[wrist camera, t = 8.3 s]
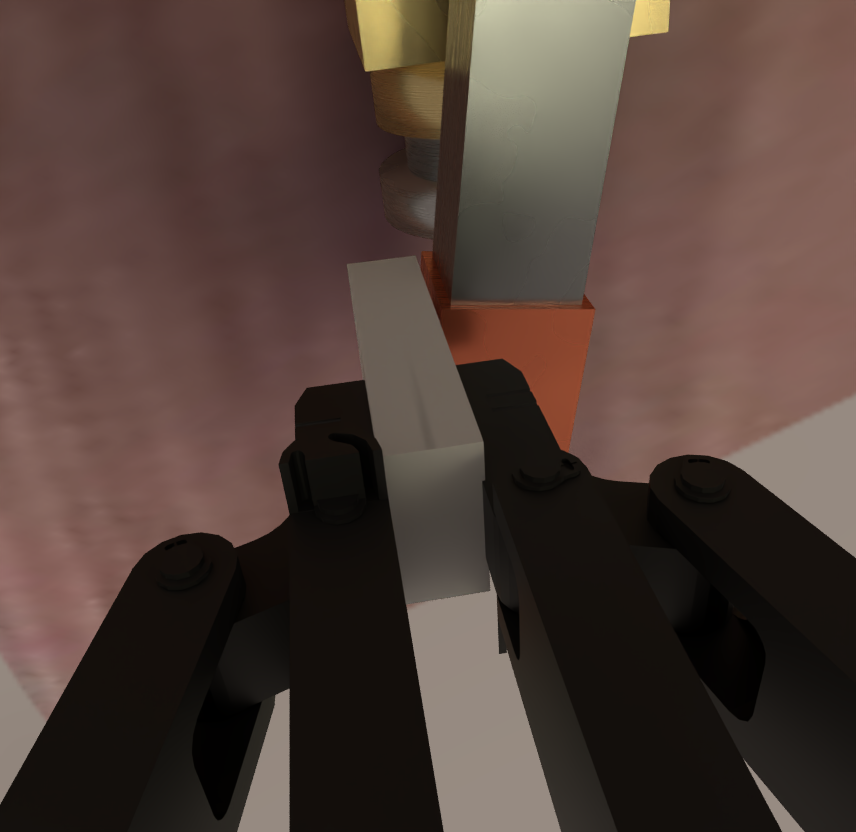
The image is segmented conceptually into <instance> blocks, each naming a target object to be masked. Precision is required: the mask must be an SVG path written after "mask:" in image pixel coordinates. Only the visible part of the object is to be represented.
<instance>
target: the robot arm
mask: <svg viewBox="0 0 856 832" xmlns="http://www.w3.org/2000/svg"><path fill="white" fill-rule="evenodd" d="M347 270H348V277H349V284H350V291H351V298H352V305H353V313H354V320H355V327H356V334H357V341H358V348H359V355H360V363H361V370H362V377H363V380H360V381H353V382H345V383H338V384H331V385H324V386H317V387H310V388H306V390H305V391H304V393H303V394H302V396H301V397H300V399H299V400H298V402H297V403H296V405H295V441H293V442H292V443H291V444H290V445H289V446H288V447H287V448H286V449H285V450H284V451H283V453H282V456H281V459H280V462H279V469H280V473H281V478H282V482H283V487H284V491H285V495H286V500H287V504H288V509H289V513H290V515H289V516H288V518H287V519H286V520H285V521H284V522H283V523H282V524H281V525H280V526H279V527H277V528H276V529H274V530H273V531H272V532H270V533H269V534H267V535H265V536H263V537H260V538H258V539H256V540H254V541H252V542H249V543H247V544H244V545H241V546H239V547H236V548H234V547H233V545H232V543H231V542H229V541H228V540H226V539H224V538H223V537H221V536H219V535H215V534H208V533H202V532H201V533H193V534H185V535H180V536H177V537H175V538H172V539H169V540H167V541H164V542H162V543H160V544H159V545H157V546H156V547H154V548H153V549H151V550H150V551H148V552H147V553H145V554H144V555H143V557H142V558H141V559H140V560H139V562H138V563H137V564H136V565H135V566H134V568H133V569H132V571H131V573H130V574H129V576H128V578H127V580H126V582H125V583H124V585H123V587H122V589H121V591H120V592H119V594H118V596H117V598H116V599H115V601H114V603H113V605H112V607H111V608H110V610H109V612H108V614H107V615H106V617H105V619H104V621H103V623H102V624H101V626H100V628H99V630H98V631H97V633H96V635H95V637H94V639H93V640H92V642H91V644H90V646H89V647H88V649H87V651H86V653H85V655H84V656H83V658H82V660H81V662H80V663H79V665H78V667H77V669H76V671H75V672H74V674H73V676H72V678H71V680H70V681H69V683H68V685H67V687H66V688H65V690H64V692H63V694H62V696H61V697H60V699H59V701H58V703H57V704H56V706H55V708H54V710H53V712H52V713H51V715H50V717H49V719H48V720H47V722H46V724H45V726H44V728H43V730H42V731H41V733H40V735H39V736H38V738H37V740H36V742H35V744H34V746H33V747H32V749H31V751H30V753H29V754H28V756H27V758H26V760H25V761H24V763H23V765H22V767H21V769H20V770H19V772H18V774H17V776H16V777H15V779H14V781H13V783H12V785H11V786H10V788H9V790H8V792H7V794H6V795H5V797H4V799H3V801H2V802H1V804H0V832H237V830H238V827H239V823H240V820H241V817H242V813H243V810H244V807H245V803H246V800H247V796H248V793H249V790H250V786H251V782H252V780H253V776H254V773H255V769H256V766H257V762H258V759H259V756H260V753H261V749H262V746H263V742H264V739H265V735H266V732H267V729H268V725H269V722H270V718H271V715H272V712H273V708H274V705H275V695H276V694H278V693H280V692H282V691H285V690H287V689H289V688H290V832H444V831H443V825H442V820H441V813H440V807H439V801H438V795H437V789H436V783H435V777H434V771H433V765H432V759H431V753H430V746H429V741H428V734H427V729H426V722H425V717H424V710H423V704H422V698H421V693H420V686H419V680H418V674H417V669H416V662H415V656H414V650H413V644H412V638H411V632H410V626H409V619H408V613H407V607H406V604H412V603H418V602H424V601H430V600H436V599H443V598H450V597H456V596H462V595H468V594H473V593H480V592H486V591H490V575H489V570H490V574H491V577H492V580H493V583H494V587H495V590H496V593H497V611H498V635H499V636H498V638H499V654H502V653H507V651H506V650H508V654H509V658H510V661H511V664H512V668H513V670H514V674H515V678H516V681H517V684H518V688H519V691H520V695H521V698H522V701H523V704H524V708H525V711H526V715H527V718H528V721H529V725H530V728H531V731H532V735H533V738H534V742H535V745H536V748H537V752H538V755H539V758H540V762H541V765H542V768H543V771H544V775H545V778H546V782H547V785H548V789H549V792H550V795H551V798H552V802H553V805H554V809H555V812H556V815H557V818H558V822H559V826H560V829H561V832H782V831H781V829H780V827H779V825H778V823H777V821H776V820H775V818H774V816H773V814H772V812H771V810H770V809H769V806H768V805H767V803H766V801H765V799H764V797H763V795H762V793H761V791H760V790H759V788H758V786H757V784H756V782H755V780H754V778H753V777H752V775H751V773H750V771H749V769H748V767H747V765H746V763H745V762H744V760H745V761H746V762H747V764H748V765H749V766H750V767H751V768H752V769H753V771H754V772H755V773H756V774H757V775H758V777H759V778H760V779H761V780H762V781H763V783H764V784H765V785H766V786H767V787H768V788H769V790H770V791H771V792H772V793H773V795H774V796H775V797H776V798H777V799H778V801H779V802H780V803H781V804H782V805H783V806H784V808H785V809H786V810H787V811H788V812H789V813H790V815H791V816H792V817H793V818H794V820H795V821H796V822H797V823H798V824H799V826H800V827H801V828H802V829H803V830H804V831H805V832H856V558H855V557H854V556H852V555H851V554H850V553H848V552H847V551H846V550H845V549H843V548H842V547H841V546H839V545H838V544H837V543H836V542H834V541H833V540H832V539H830V538H829V537H828V536H827V535H825V534H824V533H823V532H821V531H820V530H819V529H818V528H816V527H815V526H814V525H813V524H811V523H810V522H809V521H807V520H806V519H805V518H804V517H802V516H801V515H800V514H798V513H797V512H796V511H794V510H793V509H792V508H791V507H789V506H788V505H787V504H786V503H784V502H783V501H782V500H780V499H779V498H778V497H777V496H775V495H774V494H773V493H771V492H770V491H769V490H768V489H766V488H765V487H764V486H763V485H761V484H760V483H759V482H757V481H756V480H755V479H754V478H752V477H751V476H750V475H748V474H747V473H746V472H745V471H743V470H742V469H740V468H738V467H736V466H735V465H733V464H731V463H729V462H728V461H725V460H721V459H718V458H714V457H710V456H703V455H683V456H678V457H673V458H669V459H667V460H666V461H664V462H662V463H660V464H658V465H657V466H656V467H655V469H654V470H653V472H652V473H651V475H650V480H649V483H636V482H620V481H612V480H605V479H601V478H598V477H594V476H591V474H590V472H589V470H588V468H587V467H586V466H585V465H584V464H583V463H582V461H581V460H580V459H579V458H578V457H576V456H574V455H572V454H570V453H568V452H566V451H564V450H561V449H560V447H559V445H558V443H557V441H556V439H555V437H554V435H553V433H552V431H551V429H550V427H549V425H548V423H547V421H546V419H545V417H544V415H543V413H542V411H541V409H540V407H539V405H537V401H536V399H535V397H534V395H533V393H532V391H531V392H530V387H529V385H528V383H527V381H526V379H525V377H524V375H523V373H522V371H520V370H519V369H517V368H516V367H514V366H513V365H511V364H510V363H508V362H507V361H506V360H504V359H503V358H502V359H495V360H488V361H481V362H474V363H466V364H459V365H455V362H454V360H453V357H452V354H451V351H450V349H449V346H448V343H447V341H446V338H445V335H444V332H443V330H442V327H441V324H440V321H439V319H438V316H437V313H436V311H435V308H434V305H433V302H432V300H431V297H430V294H429V291H428V289H427V286H426V283H425V280H424V278H423V275H422V272H421V270H420V267H419V264H418V261H417V259H416V256H407V257H400V258H392V259H383V260H376V261H368V262H360V263H352V264H347ZM743 759H744V760H743Z"/></svg>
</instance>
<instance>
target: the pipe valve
mask: <svg viewBox="0 0 856 832" xmlns="http://www.w3.org/2000/svg"><path fill="white" fill-rule="evenodd" d="M344 2H345V9H346V16H347V23H348V28H349V31H350V33H351V36H352V39H353V41H354V44H355V46H356V49H357V52H358V54H359V57H360V60H361V62H362V65H363V67H364V70H365V72H366V71H370V77H371V84H372V92H373V100H374V108H375V115H376V123H377V125H378V127H380V128H381V129H382V130H384V131H386V132H389V133H392V134H395V135H400V136H405V145H406V148H405V149H402V150H400V151H398V152H396V153H394V154H393V155H391V156H390V157H388V158H387V159H386V160H385V161H384V162H383V163H382V164H381V166H380V168H379V175H380V182H381V190H382V197H383V205H384V212H385V217H386V219H387V221H388V222H389V223H390V224H391V225H392V226H393V227H395V228H396V229H398V230H400V231H403V232H405V233H408V234H411V235H414V236H418V237H422V238H427V239H433V236H434V221H435V206H436V191H437V176H438V161H439V146H440V132H441V117H442V102H443V87H444V72H445V57H446V42H447V27H448V12H449V0H344ZM669 10H670V0H636V4H635V9H634V15H633V21H632V26H631V32H630V37H633V36H641V35H648V34H656V33H663V32H668V27H669Z"/></svg>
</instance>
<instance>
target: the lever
mask: <svg viewBox="0 0 856 832" xmlns="http://www.w3.org/2000/svg"><path fill="white" fill-rule="evenodd" d="M635 4H636V0H449V12H448V27H447V42H446V57H445V72H444V87H443V102H442V117H441V132H440V146H439V161H438V176H437V191H436V206H435V221H434V236H433V251H422V253H421V272H422V275H423V278H424V280H425V283H426V286H427V289H428V291H429V294H430V297H431V300H432V302H433V305H434V308H435V311H436V313H437V316H438V319H439V321H440V324H441V327H442V330H443V332H444V335H445V338H446V341H447V343H448V346H449V349H450V351H451V354H452V357H453V360H454V362H455V365H459V364H466V363H474V362H481V361H488V360H495V359H502V358H503V359H504V360H506V361H507V362H508V363H510V364H511V365H513V366H514V367H516V368H517V369H519V370H520V371H522V373H523V375H524V377H525V379H526V381H527V383H528V385H529V387H530V392H531V391H532V393H533V395H534V397H535V399H536V401H537V405H539V407H540V409H541V411H542V413H543V415H544V417H545V419H546V421H547V423H548V425H549V427H550V429H551V431H552V433H553V435H554V437H555V439H556V441H557V443H558V445H559V447H560V449H561V450H564V451H566V452H568V451H569V446H570V441H571V435H572V430H573V425H574V419H575V414H576V409H577V403H578V398H579V393H580V388H581V382H582V377H583V372H584V366H585V361H586V356H587V350H588V345H589V340H590V335H591V329H592V324H593V319H594V313H595V308H594V307H593V306H592V304H591V303H590V301H589V300H588V299H587V297H586V296H585V295H584V290H585V284H586V278H587V273H588V267H589V262H590V256H591V250H592V245H593V239H594V234H595V228H596V222H597V217H598V211H599V206H600V200H601V194H602V189H603V183H604V178H605V172H606V166H607V161H608V155H609V150H610V144H611V138H612V133H613V127H614V121H615V116H616V110H617V105H618V99H619V93H620V88H621V82H622V77H623V71H624V65H625V60H626V54H627V49H628V43H629V37H630V32H631V26H632V21H633V15H634V9H635Z"/></svg>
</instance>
